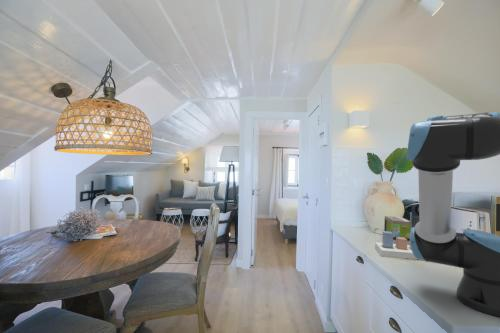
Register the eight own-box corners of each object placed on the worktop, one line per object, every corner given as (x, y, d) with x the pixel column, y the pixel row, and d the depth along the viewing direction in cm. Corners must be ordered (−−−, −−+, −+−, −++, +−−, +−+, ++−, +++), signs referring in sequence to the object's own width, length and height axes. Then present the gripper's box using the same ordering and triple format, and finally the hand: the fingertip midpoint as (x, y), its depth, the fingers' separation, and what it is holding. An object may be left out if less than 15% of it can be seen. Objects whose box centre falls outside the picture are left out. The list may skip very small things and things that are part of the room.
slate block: (393, 247, 127) (393, 233, 127) (384, 246, 128) (384, 232, 128) (390, 244, 131) (390, 231, 131) (382, 244, 132) (382, 231, 132)
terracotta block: (407, 253, 125) (407, 239, 125) (398, 252, 126) (398, 238, 126) (404, 250, 129) (404, 237, 129) (395, 250, 130) (396, 236, 130)
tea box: (411, 247, 139) (412, 221, 139) (392, 246, 141) (392, 220, 141) (401, 239, 153) (401, 216, 153) (383, 238, 155) (383, 215, 155)
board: (431, 261, 118) (431, 254, 118) (381, 256, 124) (381, 250, 124) (419, 251, 132) (419, 245, 132) (375, 247, 137) (375, 242, 137)
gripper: (454, 150, 102) (454, 206, 102) (438, 152, 115) (438, 203, 114) (434, 150, 104) (433, 205, 103) (420, 152, 116) (420, 202, 116)
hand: (436, 204), depth 109 cm, fingers closed
